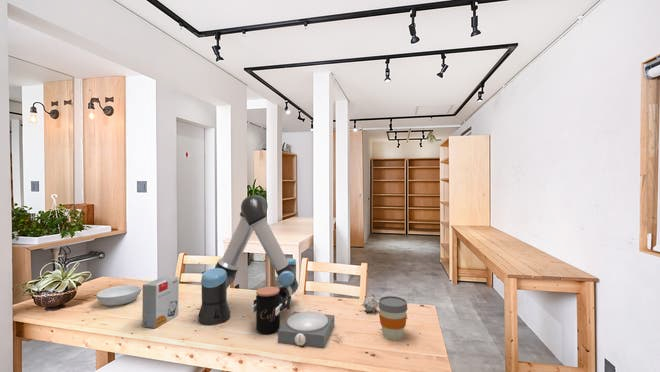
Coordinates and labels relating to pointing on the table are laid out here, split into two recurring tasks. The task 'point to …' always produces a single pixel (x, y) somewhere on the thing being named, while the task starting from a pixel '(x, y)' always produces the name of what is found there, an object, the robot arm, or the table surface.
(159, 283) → the hard drive box
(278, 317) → the coffee jar
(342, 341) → the table surface
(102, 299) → the serving bowl
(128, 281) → the table surface
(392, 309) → the reusable coffee cup
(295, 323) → the kitchen scale
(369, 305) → the game die
